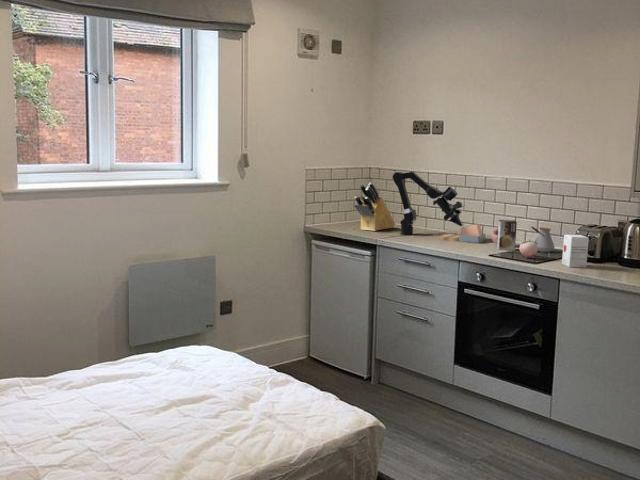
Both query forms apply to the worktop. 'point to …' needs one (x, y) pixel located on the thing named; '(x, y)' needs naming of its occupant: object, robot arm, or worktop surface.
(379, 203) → the knife block
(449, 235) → the tan wooden slab
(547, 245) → the coffee pot
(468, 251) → the worktop surface
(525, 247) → the decorative fruit
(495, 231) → the mortar and pestle
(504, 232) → the coffee box
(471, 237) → the slate tray
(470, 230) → the terracotta block
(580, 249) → the supplement box
